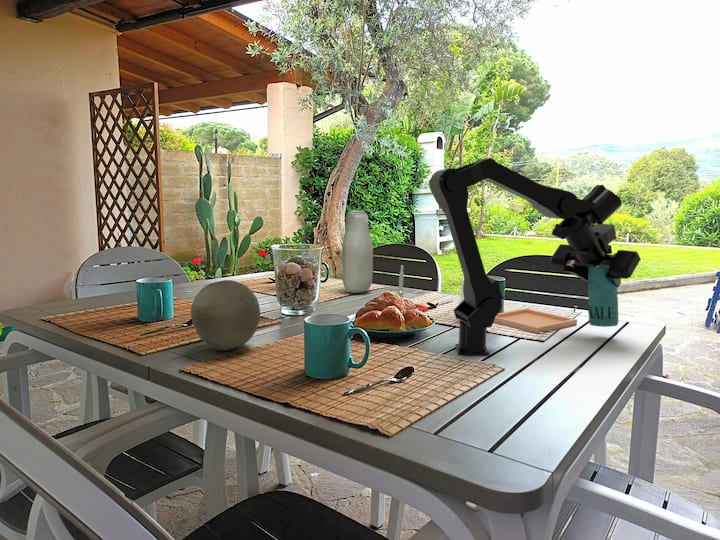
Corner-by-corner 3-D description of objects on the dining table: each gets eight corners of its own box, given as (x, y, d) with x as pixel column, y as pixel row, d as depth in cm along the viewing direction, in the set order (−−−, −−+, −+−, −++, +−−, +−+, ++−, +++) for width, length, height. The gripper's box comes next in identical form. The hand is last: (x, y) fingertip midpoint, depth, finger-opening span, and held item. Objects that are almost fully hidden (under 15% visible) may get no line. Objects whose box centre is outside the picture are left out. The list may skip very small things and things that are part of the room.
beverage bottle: (609, 327, 125) (608, 243, 123) (625, 332, 118) (623, 244, 117) (583, 328, 124) (581, 245, 123) (597, 334, 118) (595, 245, 116)
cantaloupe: (190, 344, 115) (188, 277, 113) (255, 339, 120) (253, 274, 118) (194, 364, 102) (191, 288, 100) (266, 357, 107) (265, 284, 105)
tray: (537, 334, 126) (538, 328, 126) (487, 320, 139) (487, 315, 139) (576, 325, 135) (577, 319, 135) (525, 313, 148) (525, 308, 148)
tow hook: (431, 309, 154) (401, 305, 158) (434, 266, 152) (404, 263, 156) (422, 315, 147) (391, 311, 150) (425, 270, 144) (394, 267, 148)
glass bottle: (358, 289, 184) (359, 209, 180) (377, 293, 176) (378, 210, 172) (336, 292, 178) (336, 209, 174) (355, 296, 170) (355, 210, 166)
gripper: (640, 213, 108) (661, 262, 116) (561, 210, 124) (584, 254, 131) (616, 252, 105) (639, 301, 113) (538, 244, 120) (563, 287, 128)
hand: (605, 283), depth 121 cm, fingers closed on beverage bottle, 6 cm apart
